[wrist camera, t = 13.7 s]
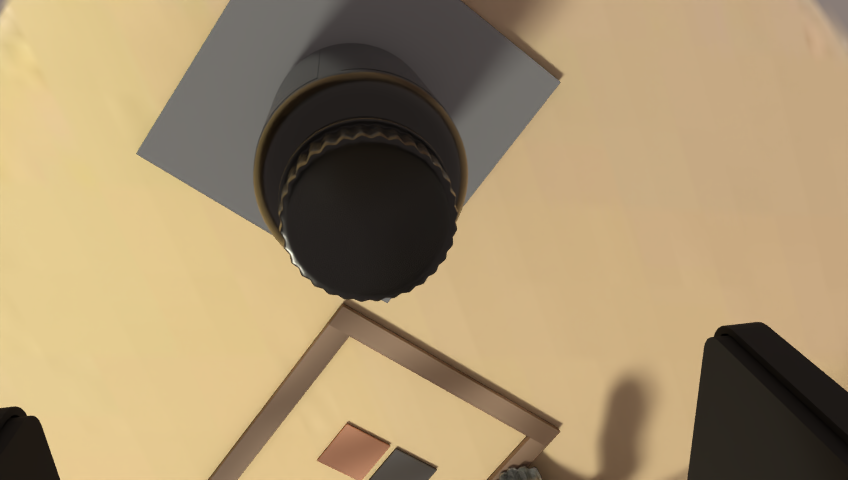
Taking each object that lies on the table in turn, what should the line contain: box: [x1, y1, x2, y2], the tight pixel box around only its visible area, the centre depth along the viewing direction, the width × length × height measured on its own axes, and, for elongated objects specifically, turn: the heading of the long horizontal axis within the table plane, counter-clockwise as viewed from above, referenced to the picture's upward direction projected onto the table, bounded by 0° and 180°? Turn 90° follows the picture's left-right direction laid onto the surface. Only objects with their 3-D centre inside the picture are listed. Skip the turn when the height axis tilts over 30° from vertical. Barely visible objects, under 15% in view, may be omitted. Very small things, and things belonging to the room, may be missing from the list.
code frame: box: [208, 304, 560, 480], centre depth 36 cm, size 14×14×1 cm
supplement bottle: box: [253, 43, 468, 302], centre depth 23 cm, size 7×7×12 cm
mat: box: [136, 0, 560, 303], centre depth 28 cm, size 13×13×1 cm
